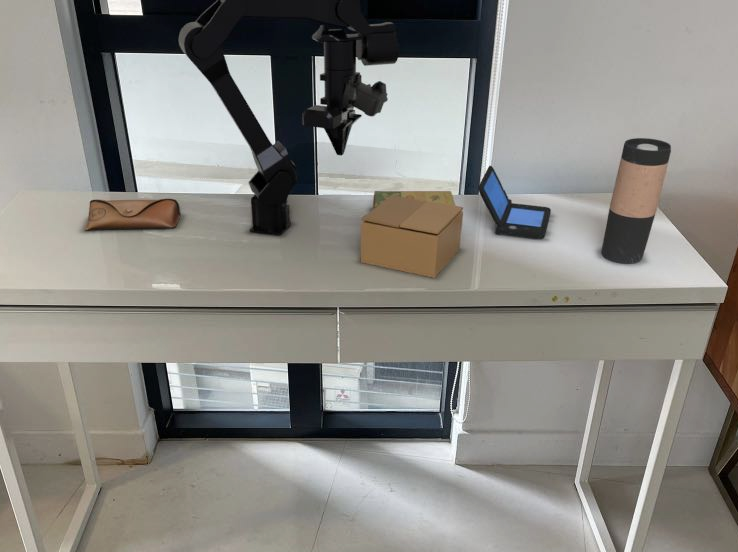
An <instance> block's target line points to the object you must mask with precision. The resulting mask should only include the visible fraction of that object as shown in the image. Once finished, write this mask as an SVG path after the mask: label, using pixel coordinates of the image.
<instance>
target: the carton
mask: <svg viewBox="0 0 738 552" xmlns="http://www.w3.org/2000/svg"><path fill="white" fill-rule="evenodd" d="M391 195H394V196H400V197H405V198H410V199H415V200H420V201H425V202H427V201H430V202H436V203H442V204H448V205H454V206H456V203H455V199H454V196H453V192H452V191H450V190H374V193H373V201H372V210H373V209H374V208H376V207H377V206H378V205H380V204H381V203H382V202H383V201H385V200H386V199H387V198H389V197H390V196H391Z"/></svg>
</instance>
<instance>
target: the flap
mask: <svg viewBox="0 0 738 552" xmlns="http://www.w3.org/2000/svg"><path fill="white" fill-rule="evenodd" d="M424 203H425V201H420V200H415V199H410V198H405V197H400V196H394V195H391V196H390V197H389V198H387V199H386V200H385V201H383V202H382V203H381V204H380V205H378V206H377V207H376V208H374V209H373V208H372V210H370V211H369V212H368V213H366V214H365V215H364V216H363V217H361V221H369V222H373V223H378V224H383V225H387V226H392V227H397V228H399V227H400V224H401V223H403V222H404V221H405V220H406V219H407V218H408V217H409V216H411V215H412V214H413V213H414V212H415V211H416V210H417V209H419V208H420V207H421V206H422V205H423V204H424Z"/></svg>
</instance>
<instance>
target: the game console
mask: <svg viewBox="0 0 738 552" xmlns="http://www.w3.org/2000/svg"><path fill="white" fill-rule="evenodd" d="M478 193H479V195H480V197H481V199H482V201H483V203H484V205H485V206H486V209H487V210H488V212H489V214H490V216H491V218H492V220H493V222H494V224H495V225H496V228H495V234H496V235H503V236H510V237H518V238H527V239H535V240H542V239H544V238H545V237H546V234H547V230H548V225H549V221H550V217H551V212H552V209H551V207H548V206H541V205H533V204H532V205H531V204H523V203H514V202H512V199H510V198H509V196H508V194H507V192H506V190H505V189H504V187H503V185H502V182H501V180H500V178H499V176H498V175H497V172H496V170H495V169H494V167H493V166H492V165H489V166H488V167H487V169H486V171H485V173H484V175H483V177H482V178H481V180H480V183H479V184H478Z"/></svg>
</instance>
